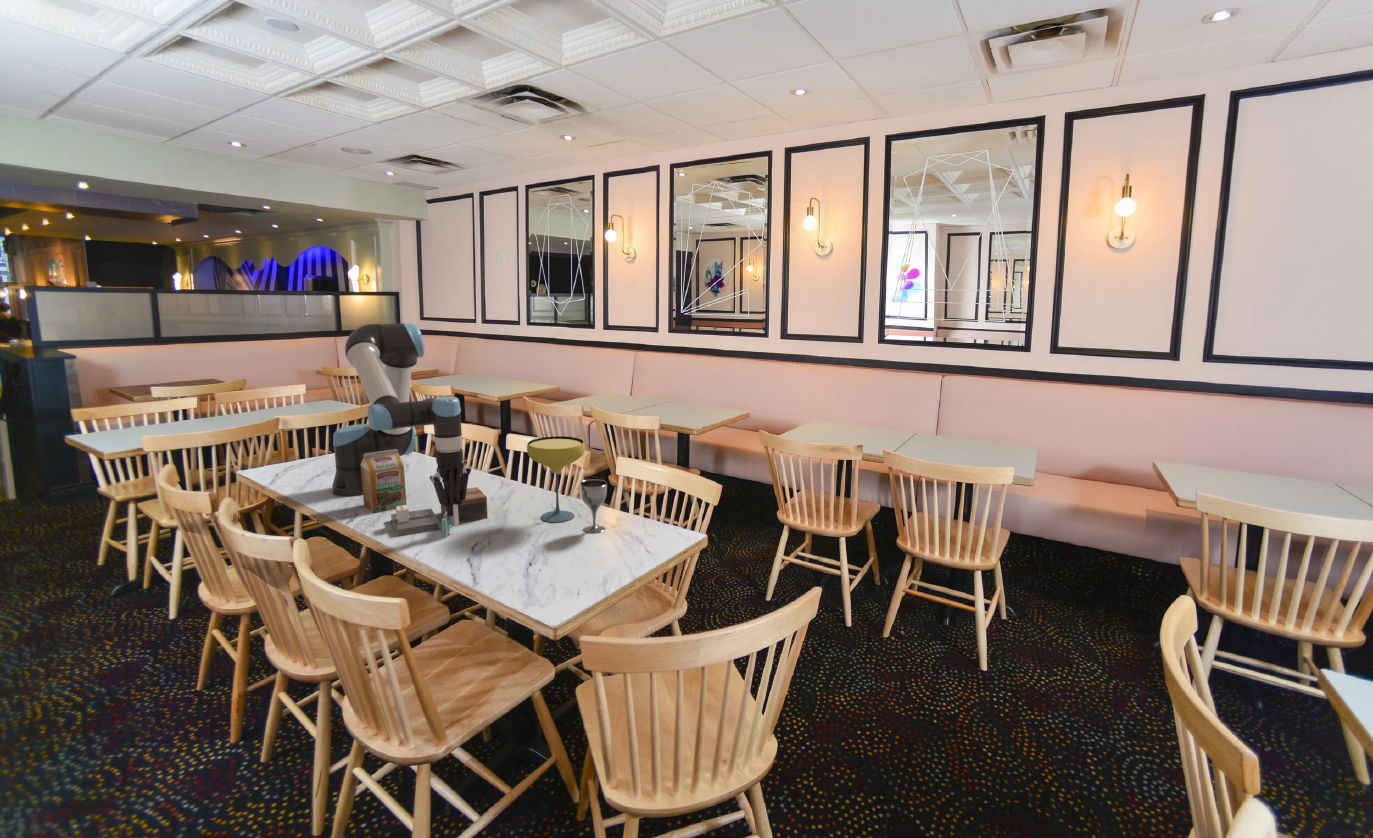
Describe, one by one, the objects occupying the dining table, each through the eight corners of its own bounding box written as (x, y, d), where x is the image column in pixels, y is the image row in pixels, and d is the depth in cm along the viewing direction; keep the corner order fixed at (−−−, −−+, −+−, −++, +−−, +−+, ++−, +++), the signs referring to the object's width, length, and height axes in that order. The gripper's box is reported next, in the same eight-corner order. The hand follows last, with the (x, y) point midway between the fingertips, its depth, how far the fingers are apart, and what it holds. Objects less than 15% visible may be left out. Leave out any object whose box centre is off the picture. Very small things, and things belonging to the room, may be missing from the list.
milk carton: (373, 513, 205) (368, 457, 201) (364, 505, 213) (359, 450, 209) (406, 506, 212) (402, 452, 208) (396, 499, 220) (392, 446, 216)
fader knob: (396, 518, 195) (395, 505, 194) (407, 517, 196) (406, 504, 195) (398, 523, 191) (397, 510, 190) (409, 521, 192) (408, 508, 192)
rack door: (453, 523, 197) (452, 505, 196) (447, 537, 186) (445, 518, 184) (445, 523, 196) (444, 506, 195) (438, 538, 185) (437, 519, 184)
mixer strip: (391, 520, 199) (390, 514, 198) (431, 514, 205) (431, 508, 205) (397, 536, 186) (397, 529, 186) (440, 528, 193) (440, 522, 192)
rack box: (441, 512, 207) (440, 492, 205) (478, 506, 213) (477, 487, 211) (448, 524, 197) (447, 502, 195) (487, 517, 203) (486, 497, 201)
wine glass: (611, 526, 197) (611, 480, 194) (600, 535, 190) (599, 488, 187) (588, 523, 199) (588, 478, 197) (576, 532, 192) (575, 485, 189)
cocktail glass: (596, 513, 209) (595, 439, 204) (564, 530, 193) (562, 451, 188) (552, 504, 217) (550, 434, 212) (517, 521, 200) (514, 444, 196)
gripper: (459, 443, 192) (464, 516, 197) (421, 451, 182) (427, 528, 187) (475, 446, 188) (480, 521, 193) (437, 456, 178) (443, 534, 183)
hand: (454, 524), depth 190 cm, fingers closed
